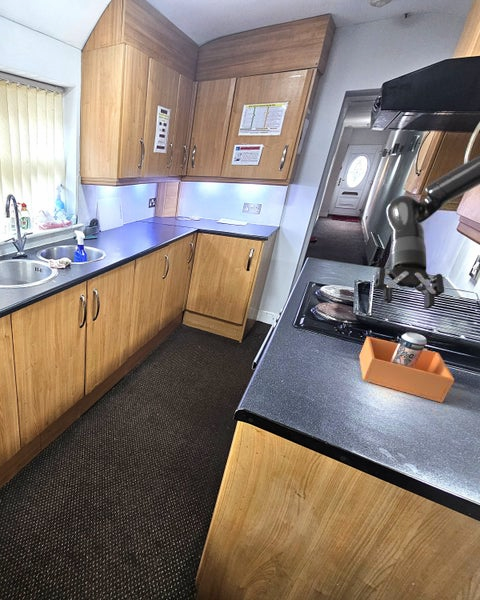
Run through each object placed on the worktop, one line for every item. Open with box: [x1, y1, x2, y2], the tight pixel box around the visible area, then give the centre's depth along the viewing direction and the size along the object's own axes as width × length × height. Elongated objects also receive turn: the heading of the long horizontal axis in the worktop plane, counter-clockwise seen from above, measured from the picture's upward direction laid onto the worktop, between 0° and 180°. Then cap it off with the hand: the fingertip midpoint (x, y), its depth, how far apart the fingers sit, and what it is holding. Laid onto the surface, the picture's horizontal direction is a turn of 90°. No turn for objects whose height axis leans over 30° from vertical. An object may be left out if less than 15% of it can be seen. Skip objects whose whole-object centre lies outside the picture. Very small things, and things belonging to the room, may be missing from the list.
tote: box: [358, 336, 455, 404], centre depth 88 cm, size 15×15×7 cm
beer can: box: [390, 332, 428, 368], centre depth 87 cm, size 5×5×12 cm
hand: (408, 304), depth 91 cm, fingers open, 8 cm apart
